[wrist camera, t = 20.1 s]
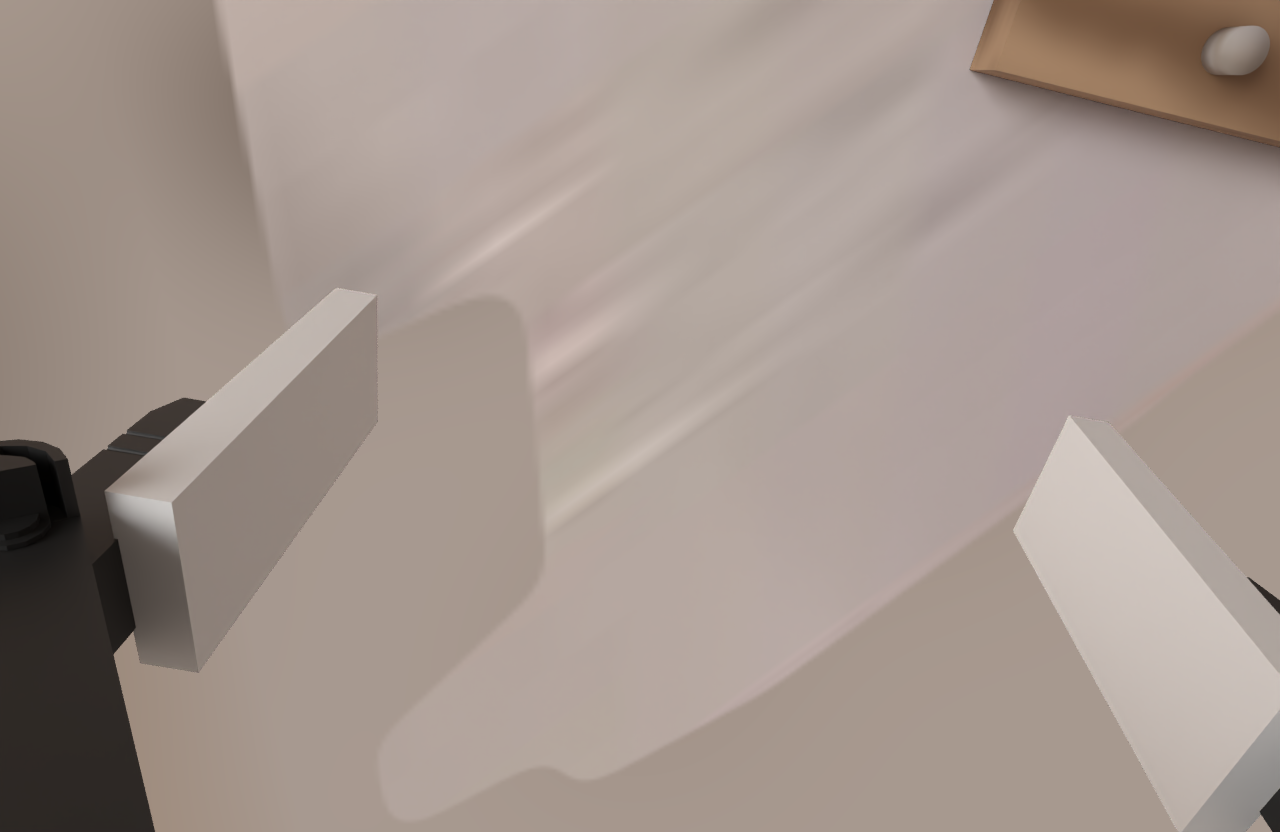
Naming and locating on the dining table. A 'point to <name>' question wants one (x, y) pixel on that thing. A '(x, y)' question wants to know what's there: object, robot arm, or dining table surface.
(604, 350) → the dining table surface
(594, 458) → the dining table surface
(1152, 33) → the peg riser
